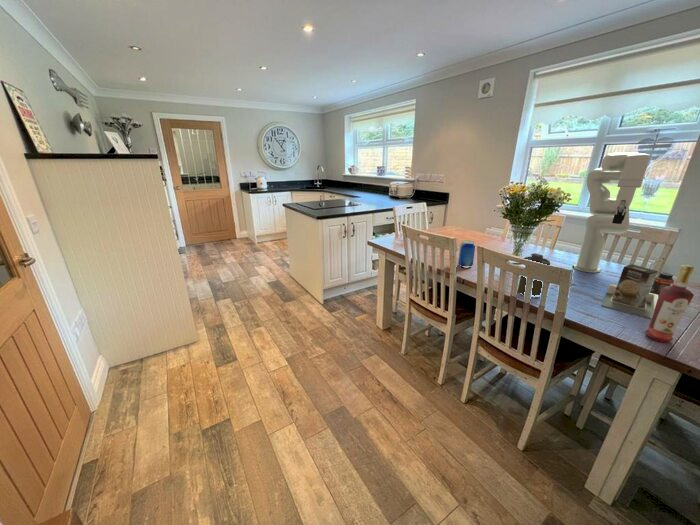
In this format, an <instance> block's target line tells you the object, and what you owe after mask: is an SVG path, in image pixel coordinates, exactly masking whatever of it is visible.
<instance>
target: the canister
mask: <svg viewBox="0 0 700 525" xmlns="http://www.w3.org/2000/svg"><path fill="white" fill-rule="evenodd" d="M530 255H531V256H525V257H523V259H528V260H532V261H536V262H540V263H543V264H547V265H550V266H551V262H550V260H548V259H546V258H544V255H542V254H539V253H532V254H531V253H530ZM525 285H526V278H525V277H523V276H521V275H520V278H519V283H518V287H517V290H518V292H517V293H518V294H519V293H522V294H523V295H524V292H525ZM541 288H542V282H541V281H537V280H534V281H533V288H532V295H534V296H535V295H540V293H541ZM523 295H522V296H523Z"/></svg>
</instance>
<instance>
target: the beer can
mask: <svg viewBox="0 0 700 525" xmlns="http://www.w3.org/2000/svg"><path fill="white" fill-rule="evenodd" d="M475 251H476V244H475V241H473V240H468V239H467V240H463V241H462V242H461V243H460V245H459V255H458V262H457V264H459V265H461V266H472V265H474V260H475V254H476V253H475ZM459 265H458V266H459ZM472 267H473V266H472Z"/></svg>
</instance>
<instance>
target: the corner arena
mask: <svg viewBox="0 0 700 525" xmlns="http://www.w3.org/2000/svg"><path fill="white" fill-rule="evenodd" d="M616 288H617V285H615V284H608V287H607V291H606V293H605V297H604V299H603V301H602V304H601V307H602V308H607V309H610V310H615V311H619V312H623V313H627V314H631V315H634V316H638V317H640V318H641V317H642V318H646V319H650V320H651V319H652V316H653V313H654V310H655V306H656V303H657V300H658V295H657V294H653V293H650V292H649V294H648V297H647V299H646V302H645V304H644V305H641V306H638V307H635V306H632V305H629V304H627V303H624V302H621V301H619V300H616V299H613V296H614V293H615V290H616Z"/></svg>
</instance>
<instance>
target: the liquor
mask: <svg viewBox="0 0 700 525" xmlns="http://www.w3.org/2000/svg"><path fill="white" fill-rule="evenodd" d="M694 268H695V267H694V266H692V265H688V264H681V266H680V268H679V273H678V276H676V279H675V280H674V283H673V286H666V287H662V288H661V291H660V294H659V297H658V300H657V303H656V306H655V310H654V313H653V316H652V319H650V323H649V325H648V328H647V329H645V331H644V333H645V335H647V336H648V338H650V339H651V338H652V339H651V340H653V339H654V340H653V341H656V340H657V341H656V342H659V341H661V342H660V343H667V342H673V340H674V339H673V335H674V334H675V332H676V329H677V327H678V326H679V323H680V321H681V320H682V318H683V316H684V315H685V313H686V311H687V309H688V307H689V306H690V303H691V301H692V300H693V298H694V296H695V295H694V293H693V292H692V291H691V290H689V289H687V286H688V283H689V279H690V276H691V275H692V273H693V271H694Z"/></svg>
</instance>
